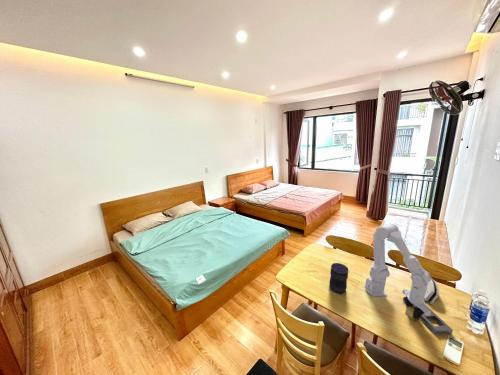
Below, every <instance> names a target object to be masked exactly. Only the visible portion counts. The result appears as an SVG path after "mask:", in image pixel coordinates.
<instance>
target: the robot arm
mask: <svg viewBox="0 0 500 375" xmlns="http://www.w3.org/2000/svg"><path fill="white" fill-rule="evenodd" d="M372 239H373V264H372V265H371V267H370V271H369V276H370V277H367V278H366V280H365V284H364V286H363V287H364V288H365V289H366V291H367V292H368V293H369V295H371V296H370V297H384V296H385V297H387V296H388V294H387V293H386V291H385V287H386V281H387V278H389V277H390V271H389V266H388V265H387V264H386V242H385V240H386V241H387V242H391V243H393V244H394V245H395V246H396V248H397V249H398V251H399V252H400V253H401V255H402V257H403V260H402V261H403V263H404V264H405V266H406V267H407V269H408V271H409V273H410V279H411V286H410V291H409V290H408V289H402V294H404V295H405V296H404V298H402V300H403V299H404V300H405V303H406V304H405V303H404V304H405V308H407V306H413V305H415V306H417V307H413V309H414V319H419V320H420V316H421V315H422V314H425V315H426V316H428V315H430V313H431V312H430V311H429V310H428V308H427V307H426V305H427V304H426V302H425V300H424V298H425V294H426V290H427V285H428V282H430V281H431V278H432V276H431V274H430V272H428V271H427V270H425V268H423V267H422V265H421V262H420V260H419V259H417V257H416V256H414V255H412V254H411V252H410V250H409V248H408V247H407V246H408V245H406V242H405V241H404V239H403V237H402V232H401V230H399V227H398V226H397V225H396V224H394V223H389V224H387V225H386V224H385V225H383V226H379V227H377V228H375V232H374V233H373V238H372ZM424 303H425V304H424Z"/></svg>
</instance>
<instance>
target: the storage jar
mask: <svg viewBox="0 0 500 375" xmlns="http://www.w3.org/2000/svg"><path fill="white" fill-rule="evenodd" d="M330 265H331V266H330V277H329V286H328V287H329V290H330V291H331V292H333V293H334V294H336V295H337V294H338V295H344V294H345V293H346V292H347V287H348V282H347V281H348V278H349V268H348V267H347V265H345V264H343V263H340V262H334V263H332V264H330Z"/></svg>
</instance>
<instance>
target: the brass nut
mask: <svg viewBox="0 0 500 375" xmlns="http://www.w3.org/2000/svg"><path fill="white" fill-rule="evenodd" d="M413 307H415V306H407V308H406V307H405V308H406V309H405V315H406V316H407V317H408V318H409V320H411V321H419V320H420V318H419V319H414V309H413Z"/></svg>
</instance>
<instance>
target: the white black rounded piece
mask: <svg viewBox="0 0 500 375" xmlns="http://www.w3.org/2000/svg"><path fill="white" fill-rule="evenodd" d="M439 296H440V288H439V285H438V283H437V281H436V280H434V279H433V278H432V277H431V281H430V282H428V285H427V290H426V294H425V298H424V301H426V302H428V303H429V304H431V305H433V304H434V302H436V300H437V299H438V298H439Z"/></svg>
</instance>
